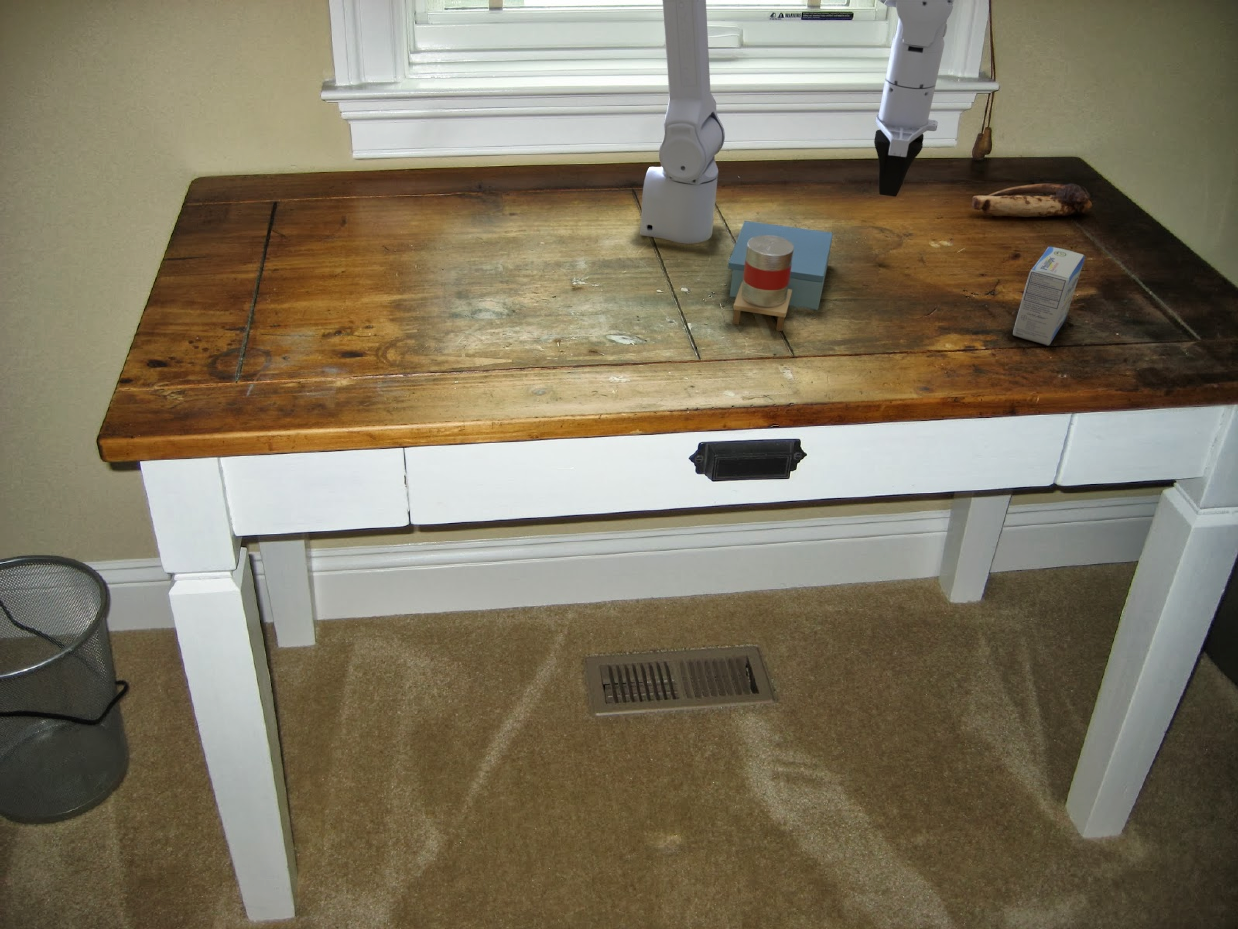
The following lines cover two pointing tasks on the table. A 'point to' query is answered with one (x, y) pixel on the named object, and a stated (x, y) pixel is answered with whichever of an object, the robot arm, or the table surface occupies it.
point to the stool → (761, 309)
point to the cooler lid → (807, 248)
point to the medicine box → (1048, 295)
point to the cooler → (802, 290)
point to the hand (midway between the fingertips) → (887, 193)
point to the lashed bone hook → (1035, 201)
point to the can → (767, 271)
